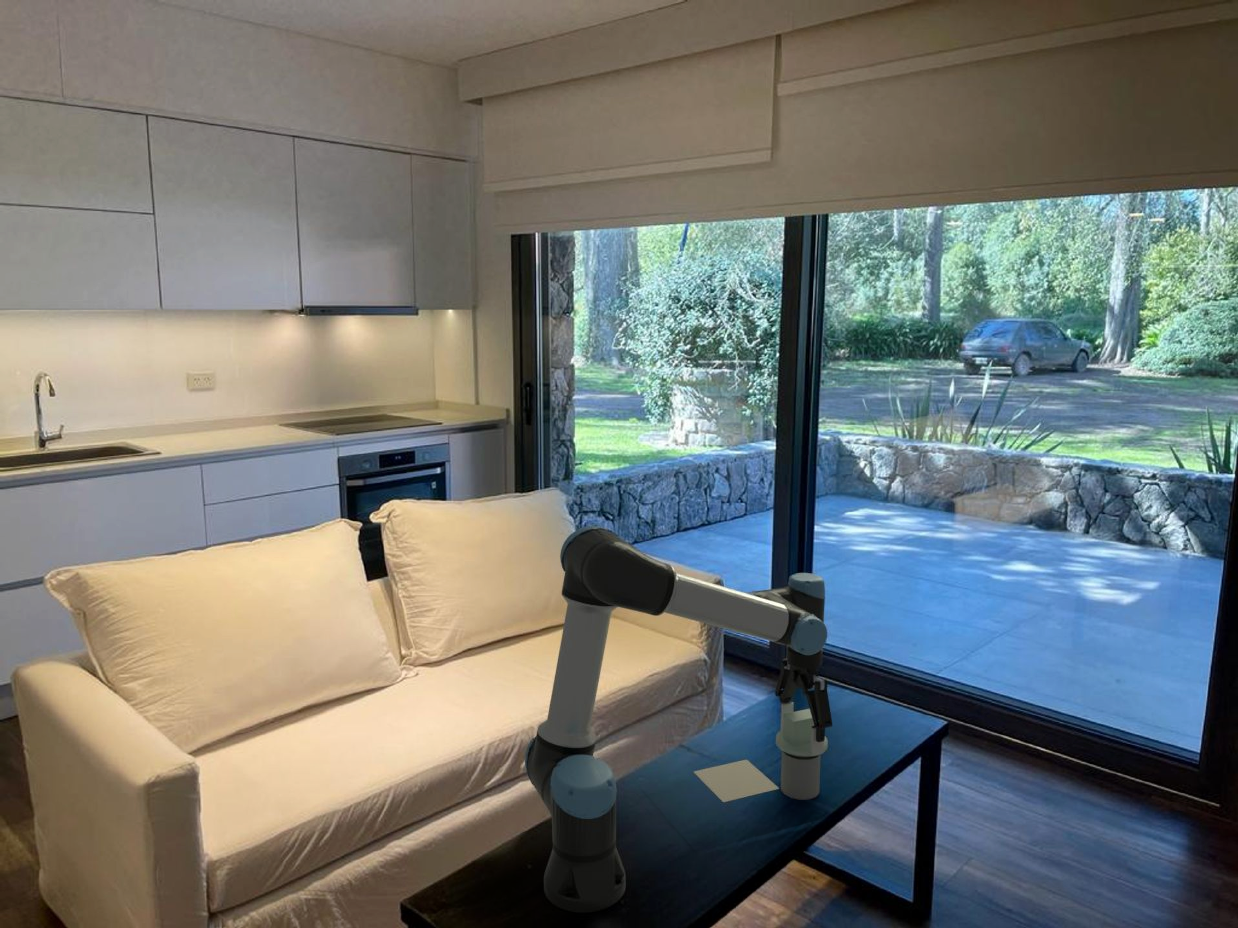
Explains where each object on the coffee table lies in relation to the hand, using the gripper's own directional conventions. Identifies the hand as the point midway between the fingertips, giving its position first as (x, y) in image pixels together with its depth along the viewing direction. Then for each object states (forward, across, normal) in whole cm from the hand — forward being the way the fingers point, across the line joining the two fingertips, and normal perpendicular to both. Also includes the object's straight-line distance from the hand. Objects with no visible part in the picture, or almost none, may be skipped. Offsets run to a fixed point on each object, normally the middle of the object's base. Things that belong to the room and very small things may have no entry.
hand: (801, 741), depth 202 cm
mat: (+12, +9, +11) cm, 19 cm away
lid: (+1, 0, 0) cm, 1 cm away
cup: (+12, 0, 0) cm, 12 cm away
